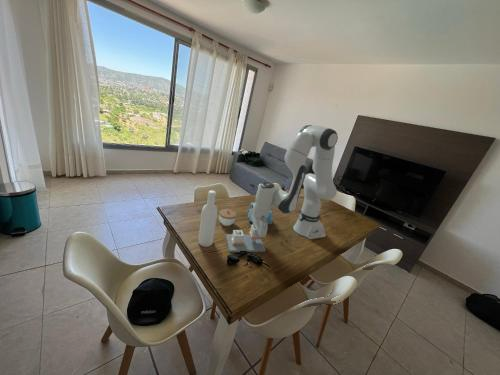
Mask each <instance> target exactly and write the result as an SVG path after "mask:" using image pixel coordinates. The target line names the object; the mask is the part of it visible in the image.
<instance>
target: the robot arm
mask: <svg viewBox="0 0 500 375" xmlns="http://www.w3.org/2000/svg"><path fill="white" fill-rule="evenodd" d="M338 138H339V137H338V133H337V131H336V130H335V129H333V128H328V127H325V126H322V125H311V124H307V125H304V126H303V127H302V128H301V129H300V130H299V132H298V133H296V135H295V136H294V137H293V139H292V141H291V142H290V144H289V146H288V148H287V150H286V152H285V154H284V162H285V165H286V166H287V168H288V169H289V170H290V171H291V173H292V177H293V178H292V182H291V185H290V188H289V191H288V192H286V191H285V190H283V189H281V188H280V187H278V186H275V184H274V183H273V182H269V181H264V182H262V183H260V184H259V186H258V187H257V191H256V195H255V202H253V203H254V204H252V205H251V213H250V217H251V219H252V221H253V223H252V225H254V226H255V228H256V230H257V233H256V235H255V236H256V237H259V236H261V237H266V236H267V232H268V228H269V224H268V223H267V221H266V219H265V218H267V217H268V215H269V211H270V209H271V206H274V207H275V208H277V209H278V210H279V211H280V212H282V213H283V214H285V215H286V214H290V213H291V214H292V213H293V212H294V211H295V210H296V209H297V206H298V201H299V197H300V193H301V190H302V188H303V190H304V197H303V198H304V200H303V203H302V206H301V209H300V211H299V215H298V218H297V221H296V222H295V224H294V225H293V227H292V228H293V230H294V232H295V233H297V234H298V235H300V236H302V237H305V238H307V239H308V240H313V239H319V238H321V239H322V238H326V236H327V234H326V232H325V231H324V230H325V229H324V228H325V227H324V225H323V223H322V222H321V221H322V220H323V217H322V216H321V215H319V214H320V211H321V208H322V203H321V200H324V201H332V200H333V199H334V198H335V197H336V196H337V192H338V190H337V188H336V186H335V184H334V183H335V182H334V181H333V180H334V179H333V174H332V173H333V172H332V169H333V163H334V158H335V149H336V147H335V146H336V145H337V143H338ZM312 148H315V150H314V155H313V161H312V168H311V169H312V171H313V173H312V172H311V173H310V172H309V173H307V167H306V162H307V158H308V157H309V155H310V153H311V149H312Z"/></svg>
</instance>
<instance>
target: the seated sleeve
mask: <svg viewBox="0 0 500 375" xmlns="http://www.w3.org/2000/svg"><path fill="white" fill-rule="evenodd" d="M237 231H240V235H237ZM231 234H232V237H231V241H232V245H243V238H244V232H243V230H242V229H233V230H232V233H231Z"/></svg>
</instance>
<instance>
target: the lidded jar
mask: <svg viewBox="0 0 500 375" xmlns="http://www.w3.org/2000/svg"><path fill="white" fill-rule="evenodd" d="M218 213H219V216H218V219H219V222H220V224H221V225H222V226H224V227H230V226H231V225H233V224H234V223H235V221H236V218H237V212H236V211H235V210H232V209H231V208H224V209H221V210H219V212H218Z"/></svg>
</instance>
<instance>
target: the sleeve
mask: <svg viewBox="0 0 500 375" xmlns="http://www.w3.org/2000/svg"><path fill="white" fill-rule="evenodd" d="M256 233H257V230H256V228H255V226H254V225H253V224H251V226H250V229H249V231H248V234H249V236H250V238H251V239H258V240H261V241H262V236H259V237H256V236H255V235H256Z"/></svg>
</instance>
